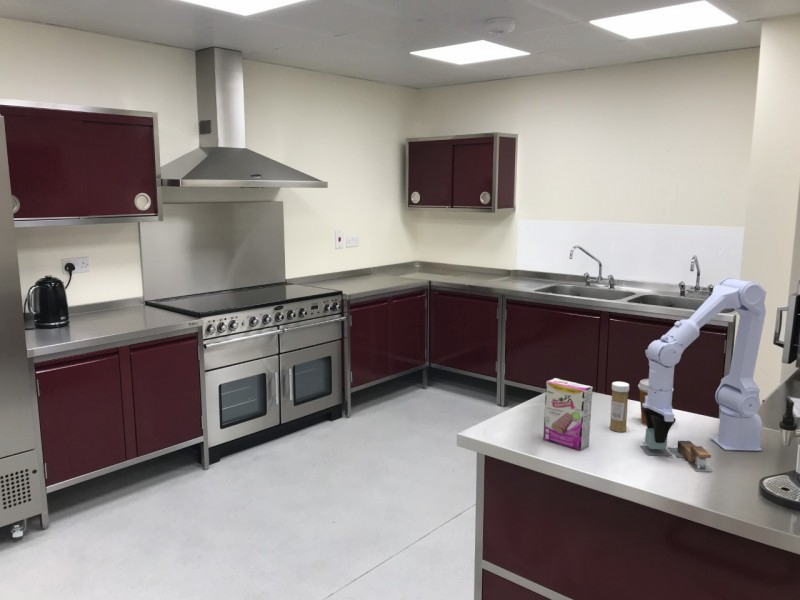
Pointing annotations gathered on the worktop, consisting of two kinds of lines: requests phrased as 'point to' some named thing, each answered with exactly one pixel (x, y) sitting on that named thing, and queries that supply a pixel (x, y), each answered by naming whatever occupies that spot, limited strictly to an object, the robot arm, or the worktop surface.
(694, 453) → the leg
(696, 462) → the flanged metal stem
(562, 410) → the candy bar box
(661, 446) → the block
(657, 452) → the seat pad
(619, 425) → the sprinkles bottle
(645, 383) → the disposable coffee cup
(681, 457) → the foot pad
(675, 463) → the worktop surface
